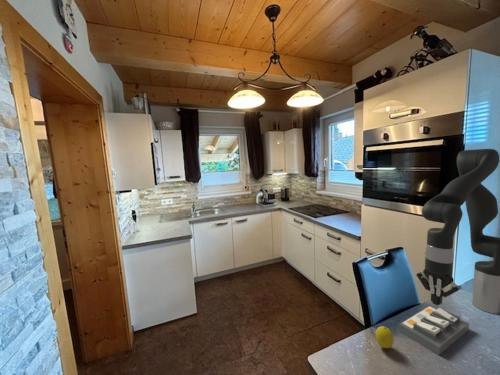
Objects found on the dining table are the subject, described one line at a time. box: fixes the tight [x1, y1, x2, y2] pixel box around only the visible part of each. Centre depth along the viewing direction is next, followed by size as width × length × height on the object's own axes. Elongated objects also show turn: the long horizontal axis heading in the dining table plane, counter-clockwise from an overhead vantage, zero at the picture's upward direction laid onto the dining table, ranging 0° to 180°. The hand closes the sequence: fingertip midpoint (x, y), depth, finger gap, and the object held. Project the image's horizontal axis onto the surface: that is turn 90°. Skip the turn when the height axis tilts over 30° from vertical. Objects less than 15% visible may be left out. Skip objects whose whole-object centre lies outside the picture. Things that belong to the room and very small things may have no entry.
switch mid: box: [427, 316, 449, 327], centre depth 85 cm, size 4×6×1 cm, turn 27°
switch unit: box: [398, 304, 470, 356], centre depth 86 cm, size 24×13×5 cm, turn 117°
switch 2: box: [435, 307, 457, 322], centre depth 89 cm, size 4×6×1 cm, turn 27°
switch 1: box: [417, 322, 440, 335], centre depth 82 cm, size 4×6×1 cm, turn 27°
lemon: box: [375, 325, 394, 349], centre depth 79 cm, size 6×6×8 cm
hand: (436, 303), depth 79 cm, fingers closed
